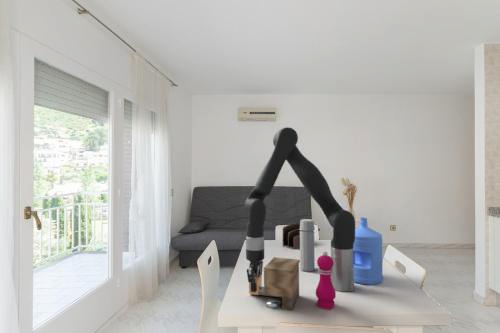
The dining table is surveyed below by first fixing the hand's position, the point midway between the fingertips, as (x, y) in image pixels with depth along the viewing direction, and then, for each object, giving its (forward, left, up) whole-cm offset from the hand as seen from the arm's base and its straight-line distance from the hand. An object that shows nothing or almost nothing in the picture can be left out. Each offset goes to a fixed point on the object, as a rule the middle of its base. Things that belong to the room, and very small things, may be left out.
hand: (255, 289), depth 125 cm
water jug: (-42, -32, -2) cm, 53 cm away
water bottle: (-15, -38, -2) cm, 41 cm away
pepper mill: (-28, +2, -2) cm, 28 cm away
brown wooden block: (-12, +3, -2) cm, 13 cm away
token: (-10, +8, -2) cm, 13 cm away
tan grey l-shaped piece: (-5, 0, -1) cm, 5 cm away
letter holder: (-1, -86, -2) cm, 86 cm away
